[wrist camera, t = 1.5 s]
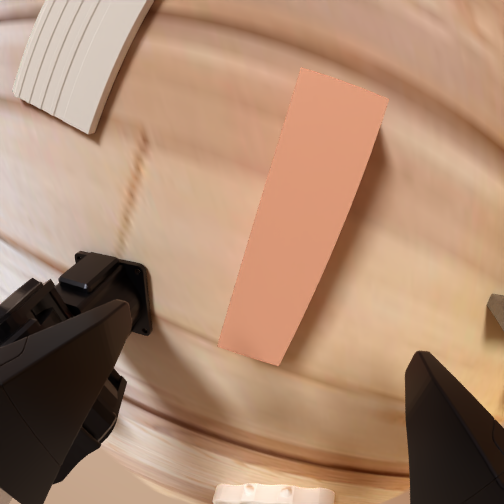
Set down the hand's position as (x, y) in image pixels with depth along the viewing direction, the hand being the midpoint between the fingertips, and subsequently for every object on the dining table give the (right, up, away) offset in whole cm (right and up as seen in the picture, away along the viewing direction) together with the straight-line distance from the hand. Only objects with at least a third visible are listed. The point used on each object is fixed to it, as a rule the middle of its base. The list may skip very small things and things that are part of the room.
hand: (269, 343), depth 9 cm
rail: (+2, +5, +10) cm, 11 cm away
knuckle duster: (+3, -34, +29) cm, 45 cm away
